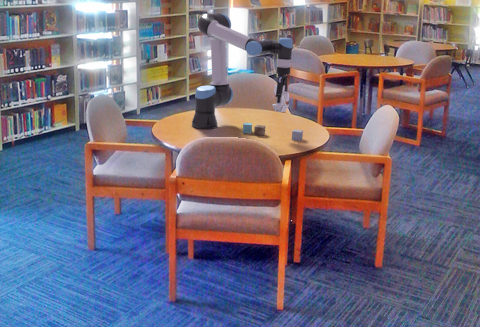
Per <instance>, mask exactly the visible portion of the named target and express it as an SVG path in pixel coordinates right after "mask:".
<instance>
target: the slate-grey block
mask: <svg viewBox="0 0 480 327" xmlns="http://www.w3.org/2000/svg"><path fill="white" fill-rule="evenodd" d="M303 134H304V130H301V129H295V128H294V129H293V130H292V131H291V141H297V142H298V141H299V142H301V141H302V140H303V136H304V135H303Z"/></svg>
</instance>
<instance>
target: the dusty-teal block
mask: <svg viewBox="0 0 480 327" xmlns="http://www.w3.org/2000/svg"><path fill="white" fill-rule="evenodd" d="M252 131H253V123H252V122H243V124H242V133H243V134H252Z"/></svg>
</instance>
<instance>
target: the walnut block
mask: <svg viewBox="0 0 480 327" xmlns="http://www.w3.org/2000/svg"><path fill="white" fill-rule="evenodd" d="M265 134H266V125H261V124H256V125H254V128H253V135H254V136H260V137H263V136H264V135H265Z"/></svg>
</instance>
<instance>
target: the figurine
mask: <svg viewBox="0 0 480 327" xmlns="http://www.w3.org/2000/svg"><path fill="white" fill-rule="evenodd" d="M284 90H285V85H284V86H283V90H282V102H281V109H277V108H276V103H273V104H271V106H272V108H273V110H274V112H277V113H285V112H287V109H288V108H289V106H290V104H287V103H288V102H289V101H290V92H289V91H287V92H286V91H284ZM276 91H277V84H274V87H273V93H274V95H276ZM284 96H285V97H286V99H285V104H283V100H284Z"/></svg>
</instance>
